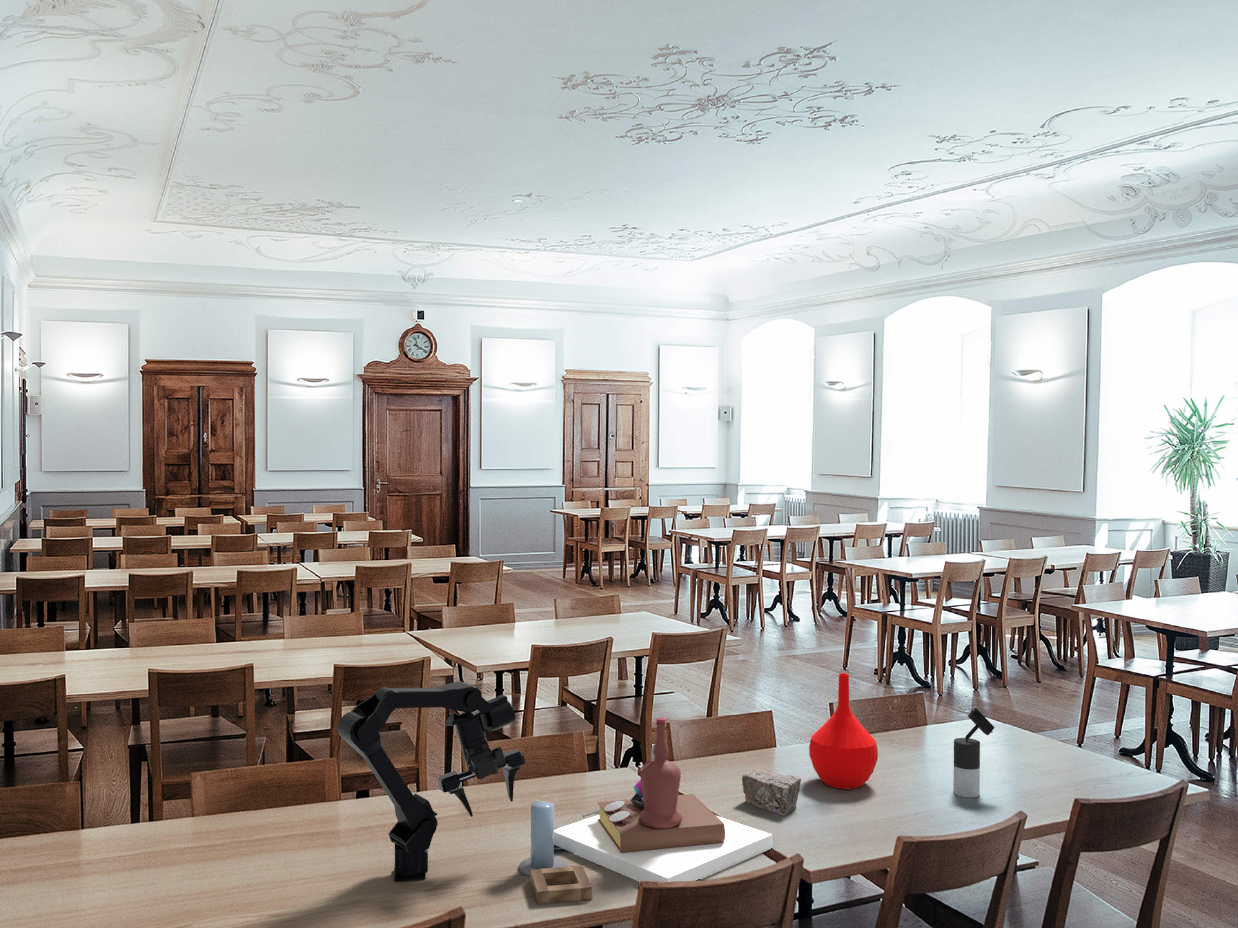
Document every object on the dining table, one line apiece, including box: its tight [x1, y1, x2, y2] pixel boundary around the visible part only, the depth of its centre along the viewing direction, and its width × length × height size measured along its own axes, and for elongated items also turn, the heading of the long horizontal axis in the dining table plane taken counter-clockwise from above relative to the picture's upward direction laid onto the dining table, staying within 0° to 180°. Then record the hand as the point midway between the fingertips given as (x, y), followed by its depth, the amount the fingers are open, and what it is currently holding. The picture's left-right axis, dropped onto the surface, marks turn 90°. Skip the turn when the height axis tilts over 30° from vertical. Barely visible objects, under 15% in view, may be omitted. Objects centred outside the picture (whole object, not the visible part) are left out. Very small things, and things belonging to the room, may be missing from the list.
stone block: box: [741, 768, 802, 817], centre depth 259 cm, size 14×9×8 cm, turn 46°
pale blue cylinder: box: [530, 800, 555, 869], centre depth 219 cm, size 5×5×13 cm
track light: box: [953, 707, 996, 798], centre depth 269 cm, size 6×17×20 cm
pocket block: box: [529, 865, 593, 905], centre depth 208 cm, size 11×11×2 cm
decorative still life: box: [554, 717, 774, 882], centre depth 233 cm, size 35×40×31 cm
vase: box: [808, 672, 879, 790], centre depth 277 cm, size 18×18×30 cm
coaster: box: [518, 856, 567, 877], centre depth 219 cm, size 10×10×1 cm
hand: (491, 808), depth 223 cm, fingers open, 9 cm apart
